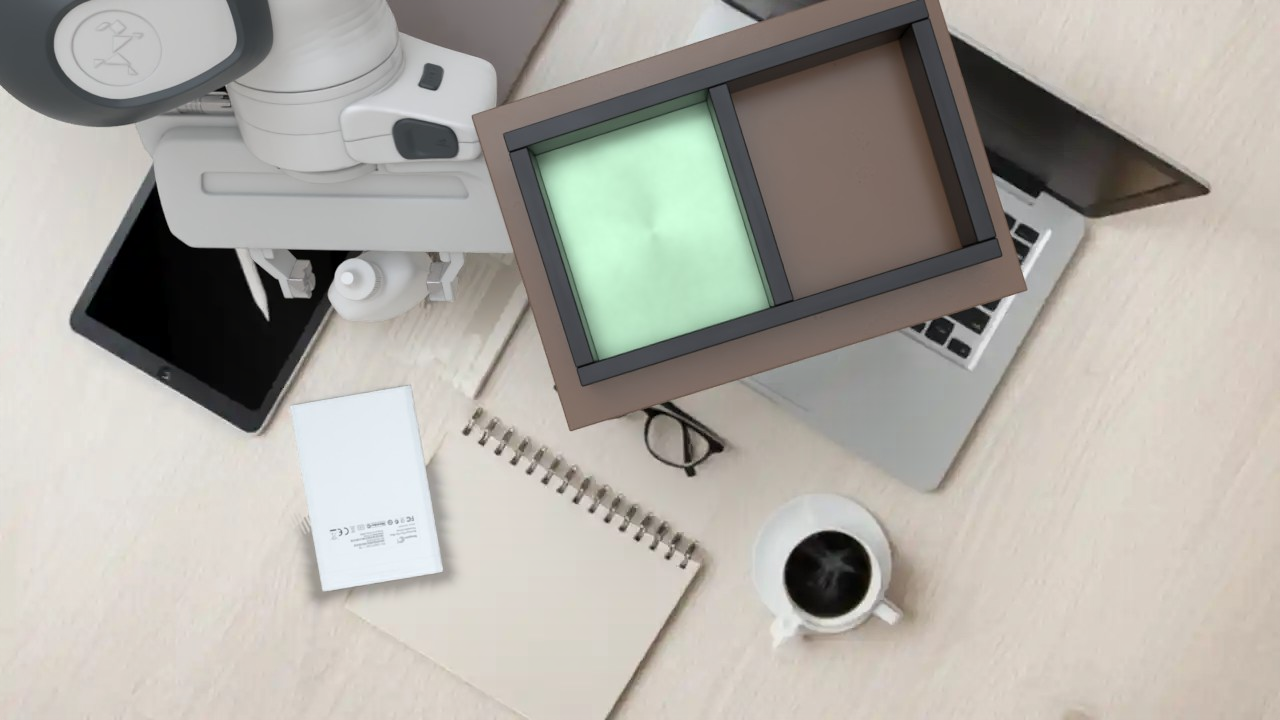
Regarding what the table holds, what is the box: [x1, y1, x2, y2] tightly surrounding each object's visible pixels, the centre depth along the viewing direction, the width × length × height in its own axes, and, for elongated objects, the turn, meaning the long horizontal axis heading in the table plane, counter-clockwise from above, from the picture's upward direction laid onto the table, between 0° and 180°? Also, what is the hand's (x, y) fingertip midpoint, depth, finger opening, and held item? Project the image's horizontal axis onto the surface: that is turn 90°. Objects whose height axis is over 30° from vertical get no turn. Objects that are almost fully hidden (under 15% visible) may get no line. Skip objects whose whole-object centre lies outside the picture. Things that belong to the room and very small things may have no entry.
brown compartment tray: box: [472, 0, 1028, 432], centre depth 45 cm, size 14×20×4 cm
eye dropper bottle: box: [327, 251, 434, 323], centre depth 67 cm, size 4×6×12 cm
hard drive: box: [289, 384, 444, 592], centre depth 72 cm, size 2×8×12 cm
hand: (372, 293), depth 66 cm, fingers open, 7 cm apart
